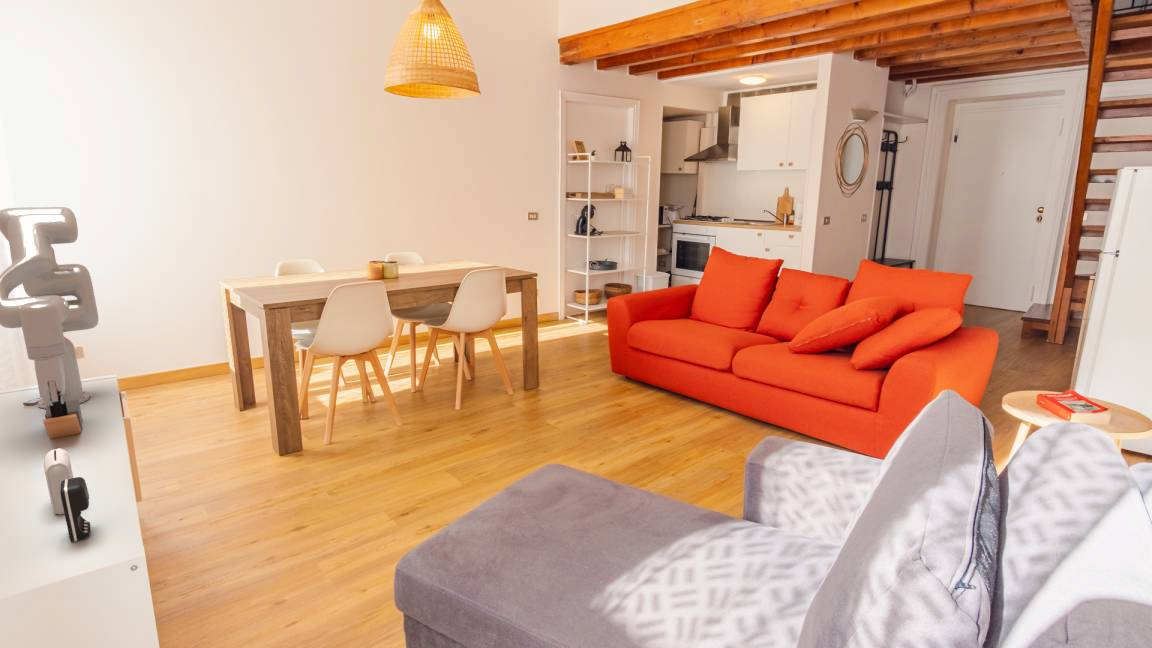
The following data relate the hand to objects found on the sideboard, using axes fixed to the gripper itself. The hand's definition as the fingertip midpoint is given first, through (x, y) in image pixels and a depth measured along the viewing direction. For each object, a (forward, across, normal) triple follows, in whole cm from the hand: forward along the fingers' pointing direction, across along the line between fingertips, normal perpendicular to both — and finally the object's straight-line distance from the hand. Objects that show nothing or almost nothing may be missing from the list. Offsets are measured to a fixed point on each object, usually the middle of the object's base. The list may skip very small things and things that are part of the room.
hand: (60, 417), depth 161 cm
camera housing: (+8, -12, 0) cm, 14 cm away
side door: (+7, -6, 0) cm, 9 cm away
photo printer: (+8, +36, 0) cm, 37 cm away
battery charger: (+8, +52, +4) cm, 53 cm away
